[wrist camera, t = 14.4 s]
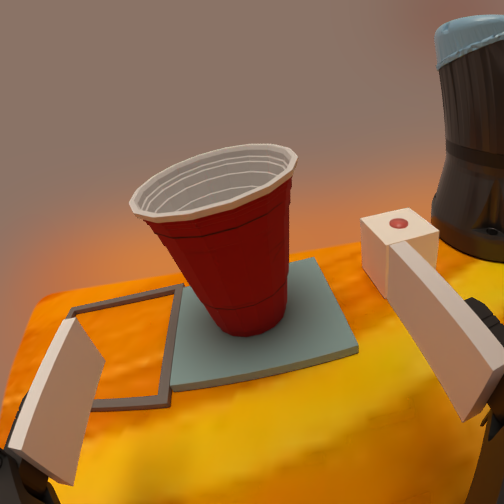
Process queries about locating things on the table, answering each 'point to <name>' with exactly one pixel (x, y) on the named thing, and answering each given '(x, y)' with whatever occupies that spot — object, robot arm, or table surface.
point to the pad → (262, 336)
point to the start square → (164, 386)
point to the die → (390, 232)
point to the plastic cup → (227, 230)
